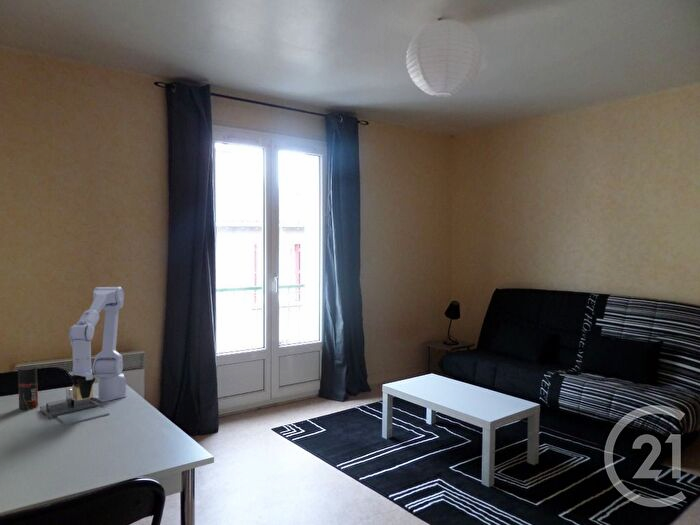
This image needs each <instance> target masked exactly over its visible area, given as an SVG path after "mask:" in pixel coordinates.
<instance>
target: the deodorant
mask: <svg viewBox="0 0 700 525" xmlns="http://www.w3.org/2000/svg"><path fill="white" fill-rule="evenodd" d="M17 379H18V380H17V382H18V385H17V386H18V388H17V390H18V409H20V410H19V411H29V410H28V409H31V410H34V409H33V408H35V409H37V408H38V407H39V398H38V397H39V395H38V394H39V393H38V391H39V390H38V388H39V387H38V367H37V366H36V365H27V366H22V367H18V368H17ZM37 406H38V407H37ZM36 407H37V408H36Z"/></svg>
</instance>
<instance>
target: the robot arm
mask: <svg viewBox="0 0 700 525" xmlns="http://www.w3.org/2000/svg"><path fill="white" fill-rule="evenodd" d="M92 298H93V301H92V303H91V305H90V307H89V309H86V310H85V311H83V313H82V314H81V316H80V318H79V320H78V321H77V323H76V324H73V325H72V326H70V327H69V330H68V334H67V335H68V339H69V341H70V346H71V347H72V349H71V350H72V371H69V375H70V376H69V378H70V380H71V382H72V383H73V384H72V385H75V384H79V387H80V390H81V396H82V399H85V398H89V396H90V392H91V388H92V385H94V383H95V381H96V378H97V387H98V395H95V396H94V398H95V399H96V400H98V401H100V402H101V403H104V402H109V401H112V400H117V399H121V398H126V397H127V396H128V395H127V392H126V391H127V390H126V389H127V384H126V383H127V382H126V377H125V375H124V373H122V372H123V369H124V362H123V355H122V354H121V353H119V352H118V350H117V340H118V339H117V337H118V328H119V326H118V325H119V314H120V309H122V308H123V307H124V300H125V299H124V298H125V291H124V289H123V288H122V286H101V287H100V286H96V287H94V290H93V294H92ZM103 310H104V312H105V313H104V323H103V324H104V325H103V332H102V333H103V335H102V336H103V337H102V345H101V346H102V347H101V351H100V352H99V353H97V354H95V356H94V360H93V362H92V347H91V346H92V342H91V341H92V340H93V339H94V334H95V331H96V330H95V329H96V328H95V327H96V325H97V324H98V322H99V321H100V316H101V315H100V313H101V311H103ZM92 363H93V364H92ZM93 374H94V375H95V376H96V377H94V375H93Z"/></svg>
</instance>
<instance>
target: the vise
mask: <svg viewBox="0 0 700 525" xmlns="http://www.w3.org/2000/svg"><path fill="white" fill-rule="evenodd" d="M96 400H97V399H96V398H95V397H94V396H93V397H92V398H88V399H83V400H78V401H77V400H76V399H74V398H73V388H72V387H71V388H70V387H69V388H66V389H65V398H64V399H60V400H54V401H50V402H46V404H45V405H42V406H40V407H39V409H40V412H41V413H42V412H43V413H44V414H43V413H42V414H43V415H45V416H46V417H47V418H48V419H49V420H51V419H56V418H57V416H61V415H65V414H70V413H74V412H78V411H82V410H87V409H91V408H95V407H99V403H98V402H97V401H96Z"/></svg>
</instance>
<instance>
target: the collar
mask: <svg viewBox="0 0 700 525" xmlns="http://www.w3.org/2000/svg"><path fill="white" fill-rule="evenodd" d="M93 385H94V384H93ZM93 385H92V388H91V392H90V396H89V398H92V397H93V398H94V388H93V387H94V386H93ZM71 388H72V398H74V399H76V400H77V401H78V400H83V399H82V396H81V390H80V387H79V384H75V385H74V384H72V387H71ZM85 399H88V398H85Z"/></svg>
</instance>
